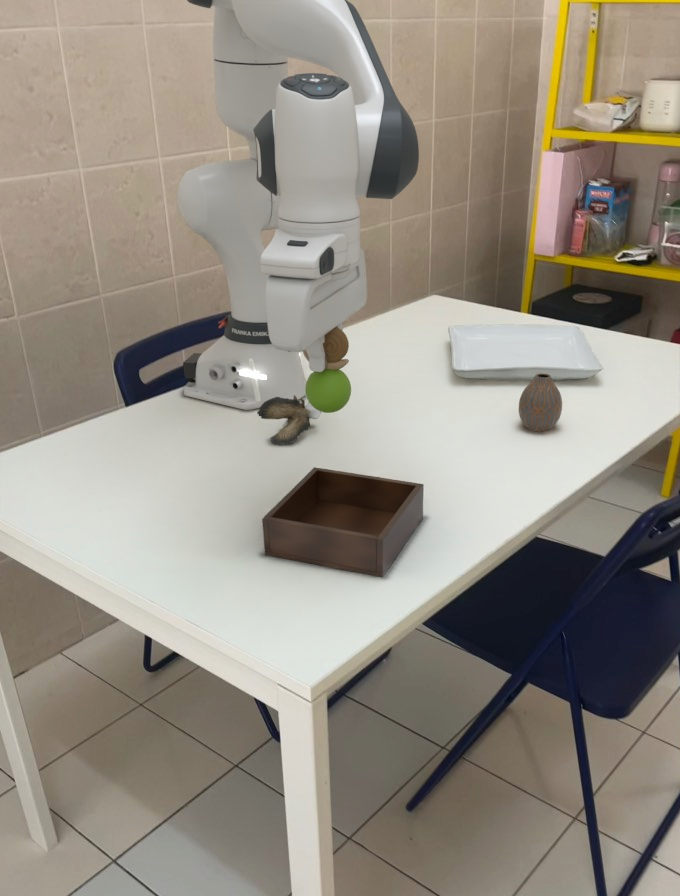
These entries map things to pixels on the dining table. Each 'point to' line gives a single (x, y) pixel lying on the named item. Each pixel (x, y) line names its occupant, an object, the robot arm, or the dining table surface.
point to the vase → (540, 404)
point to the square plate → (521, 352)
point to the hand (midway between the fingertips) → (324, 365)
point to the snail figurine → (330, 376)
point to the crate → (344, 521)
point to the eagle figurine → (288, 417)
